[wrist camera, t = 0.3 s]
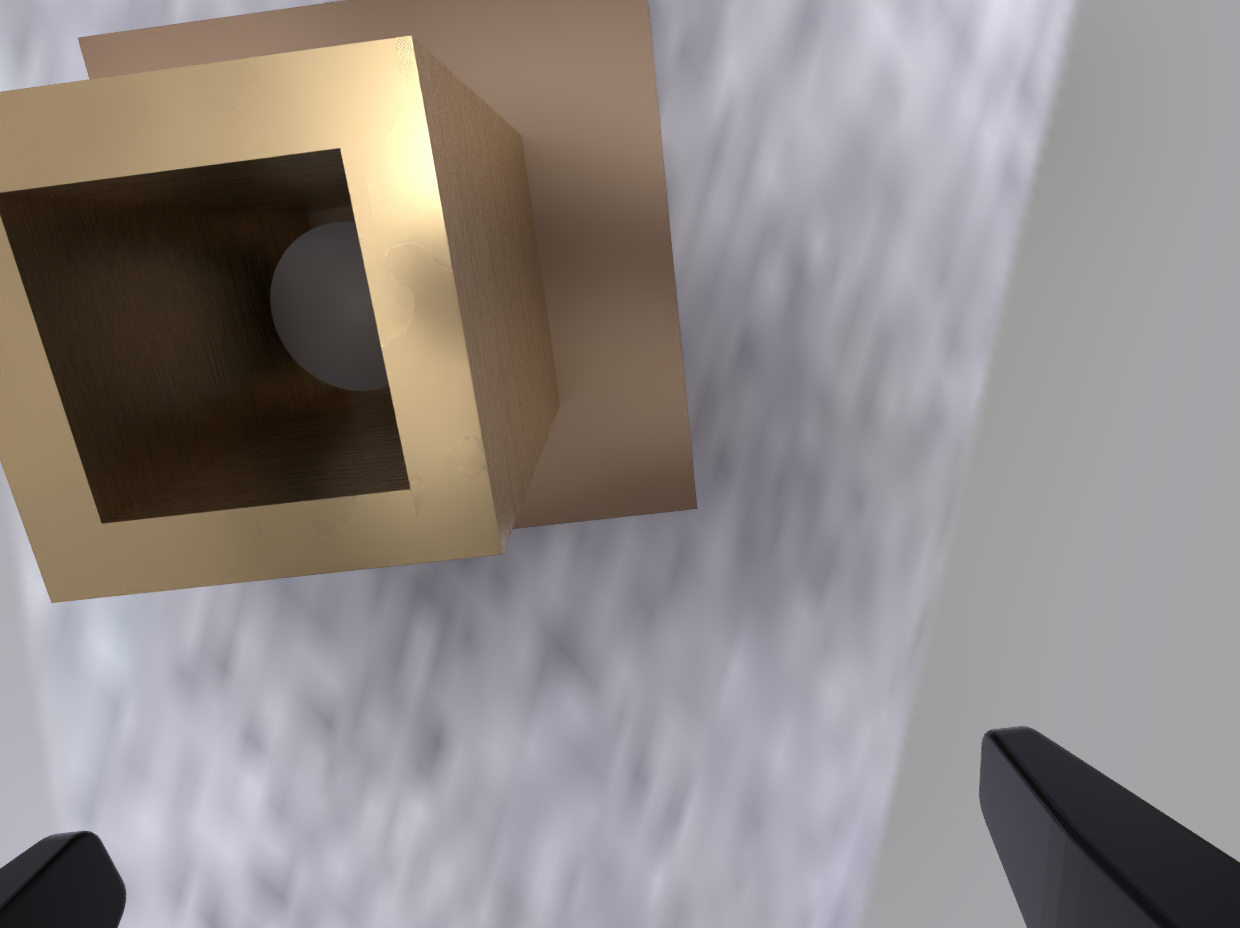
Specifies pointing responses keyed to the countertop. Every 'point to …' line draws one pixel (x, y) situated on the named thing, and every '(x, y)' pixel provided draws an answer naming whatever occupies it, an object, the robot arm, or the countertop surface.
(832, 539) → the countertop surface
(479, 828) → the countertop surface
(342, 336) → the post stand
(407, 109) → the collar
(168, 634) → the countertop surface
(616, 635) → the countertop surface
